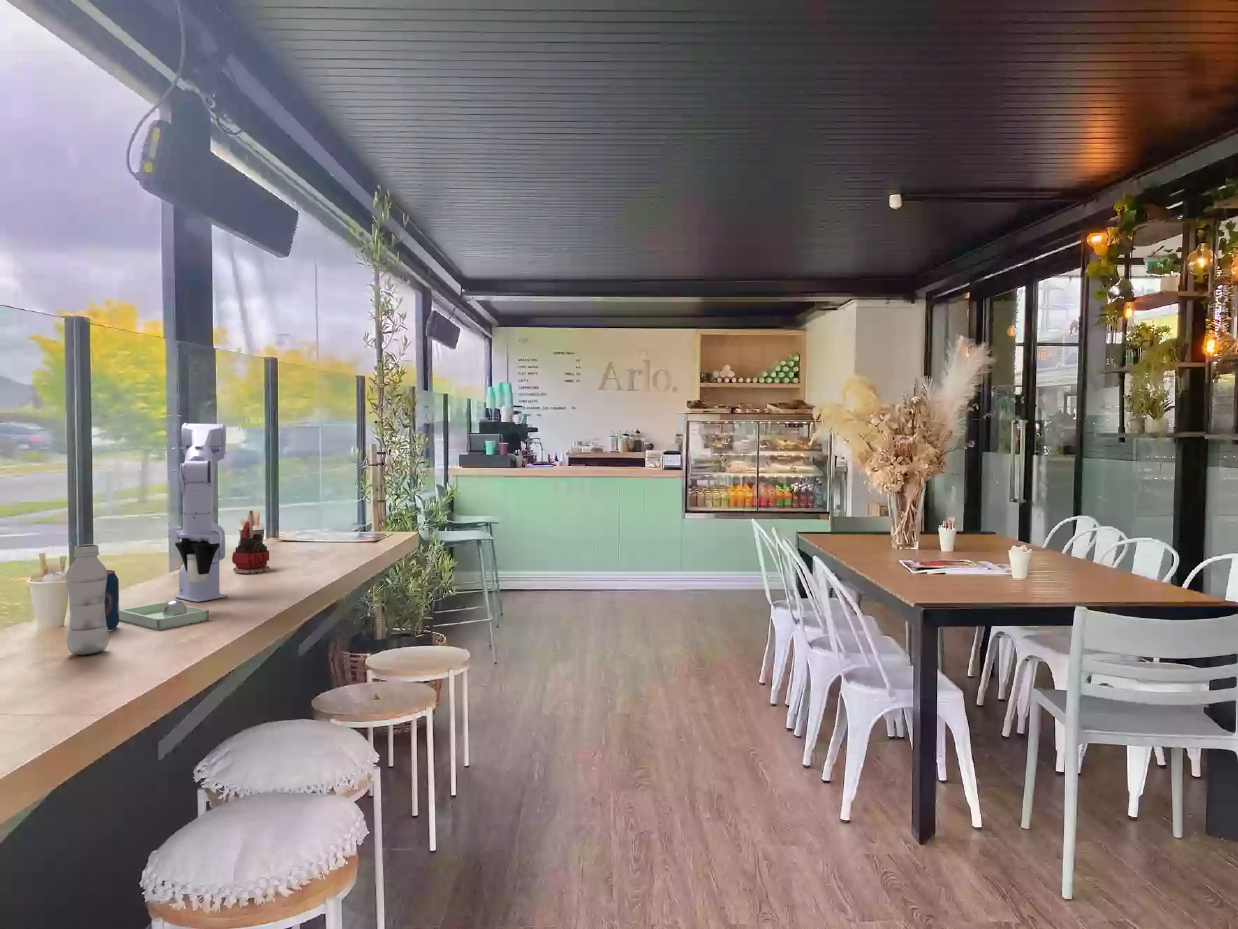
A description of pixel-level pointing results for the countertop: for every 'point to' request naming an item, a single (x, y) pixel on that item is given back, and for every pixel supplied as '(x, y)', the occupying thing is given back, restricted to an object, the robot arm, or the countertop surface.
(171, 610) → the ball
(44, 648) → the countertop surface
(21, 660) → the countertop surface
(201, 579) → the shaker
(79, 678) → the countertop surface
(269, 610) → the countertop surface
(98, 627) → the plastic bottle
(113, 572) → the soda can
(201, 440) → the robot arm
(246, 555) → the cake
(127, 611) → the tray
